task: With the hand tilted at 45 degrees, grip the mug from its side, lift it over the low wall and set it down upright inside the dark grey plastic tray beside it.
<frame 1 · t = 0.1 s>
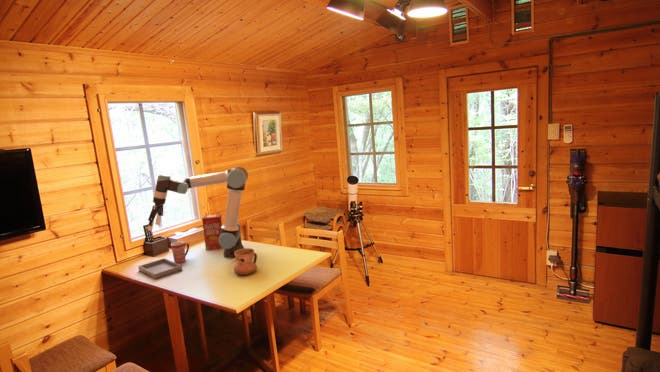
hand: (153, 227, 266), 28 cm above the table, tool tilted 20°, fingers open, 13 cm apart
ceramic jug: (246, 272, 253), on the table
tray: (160, 270, 263), on the table
mug: (182, 261, 280), on the table
food packaging: (215, 247, 306), on the table
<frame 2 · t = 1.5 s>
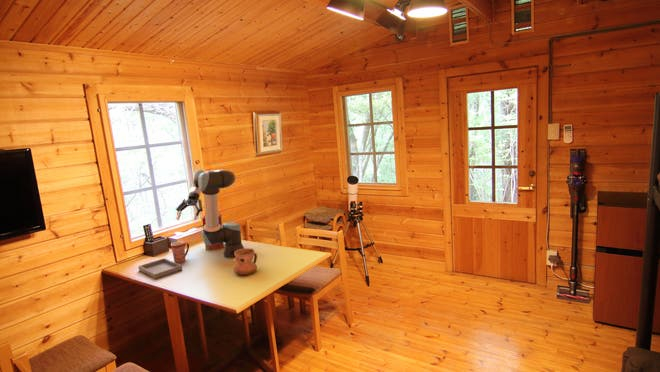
hand: (186, 219, 285), 27 cm above the table, tool tilted 45°, fingers open, 13 cm apart
nothing on the table moved.
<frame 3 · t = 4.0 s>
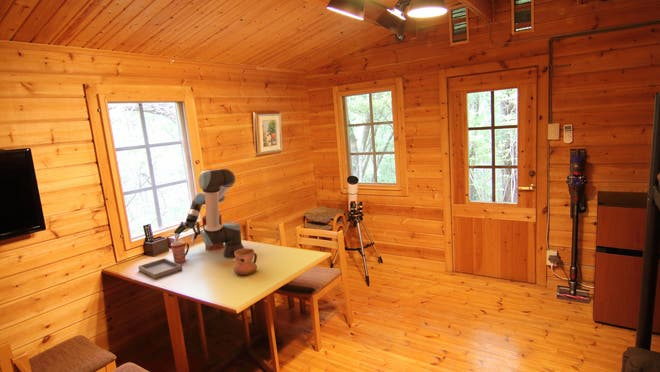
hand: (183, 242, 284), 11 cm above the table, tool tilted 45°, fingers open, 13 cm apart
nothing on the table moved.
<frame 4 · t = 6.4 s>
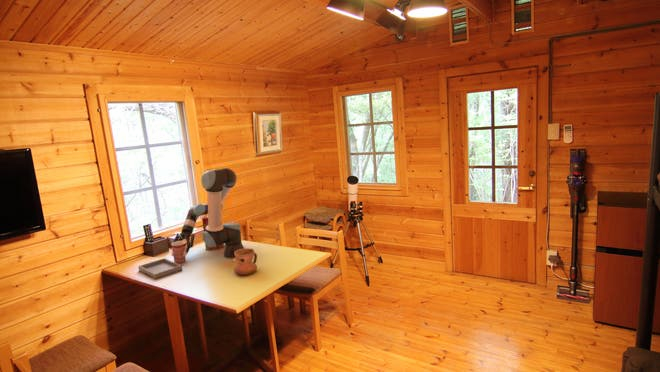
hand: (178, 255, 276), 5 cm above the table, tool tilted 45°, fingers closed on mug, 8 cm apart
mug: (182, 260, 280), on the table, touching gripper
everything else where it was.
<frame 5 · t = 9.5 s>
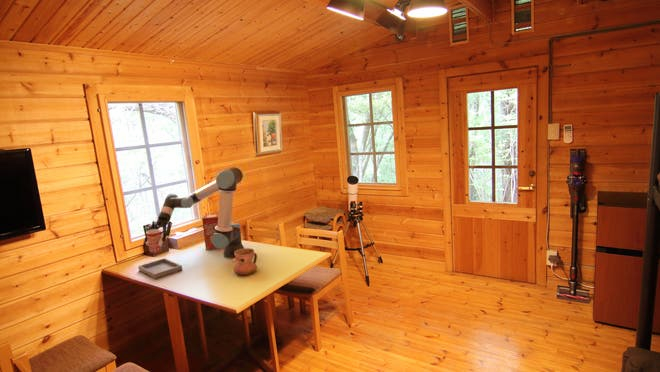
hand: (153, 245, 257), 19 cm above the table, tool tilted 45°, fingers closed on mug, 8 cm apart
mug: (158, 250, 261), point 14 cm above the table, touching gripper
everything else where it was.
when the fingers open (7 cm above the table, at t = 12.7 s): mug drops 1 cm, resting on tray.
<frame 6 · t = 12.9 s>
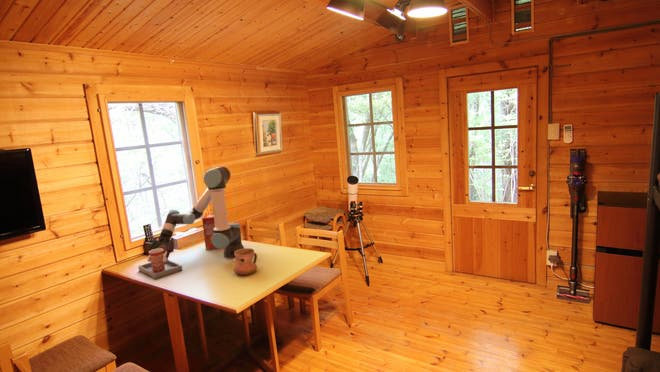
hand: (156, 261, 259), 8 cm above the table, tool tilted 45°, fingers open, 11 cm apart
mug: (161, 269, 263), point 1 cm above the table, touching tray
everything else where it was.
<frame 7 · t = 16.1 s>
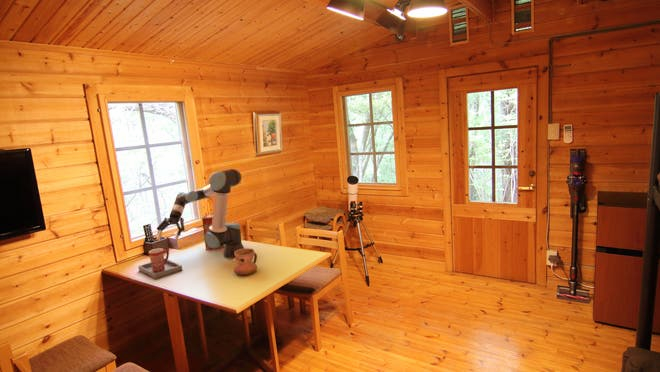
hand: (166, 239, 270), 18 cm above the table, tool tilted 45°, fingers open, 13 cm apart
nothing on the table moved.
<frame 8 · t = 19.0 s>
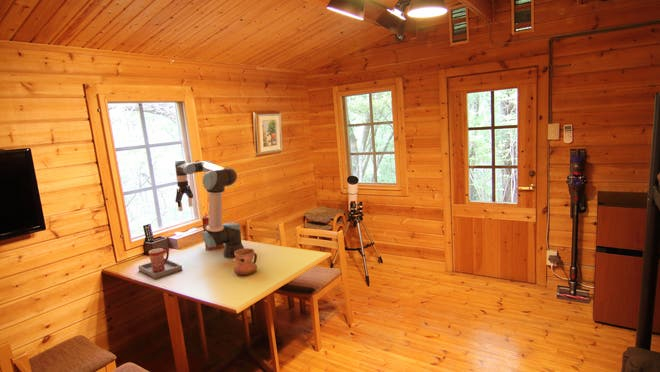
hand: (185, 208, 299), 32 cm above the table, tool pointing down, fingers open, 13 cm apart
nothing on the table moved.
at the end: mug inside the target area on the tray (0.6 cm from its centre), point 0.8 cm above the tray's base; mug tilted 0°; the gripper is holding nothing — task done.
